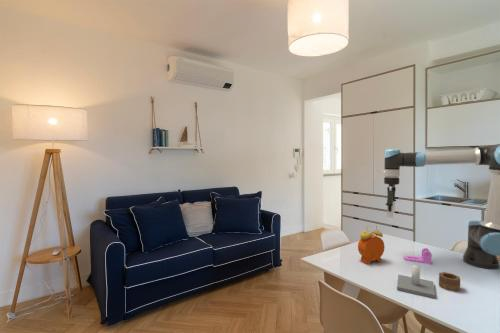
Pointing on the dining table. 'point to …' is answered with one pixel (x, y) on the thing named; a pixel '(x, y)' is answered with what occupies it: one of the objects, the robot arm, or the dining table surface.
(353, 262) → the dining table surface
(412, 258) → the bracket
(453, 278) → the collar
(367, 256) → the alarm clock
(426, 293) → the post
